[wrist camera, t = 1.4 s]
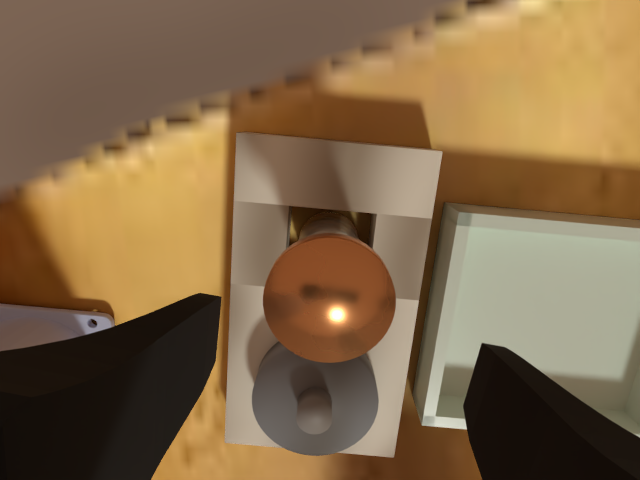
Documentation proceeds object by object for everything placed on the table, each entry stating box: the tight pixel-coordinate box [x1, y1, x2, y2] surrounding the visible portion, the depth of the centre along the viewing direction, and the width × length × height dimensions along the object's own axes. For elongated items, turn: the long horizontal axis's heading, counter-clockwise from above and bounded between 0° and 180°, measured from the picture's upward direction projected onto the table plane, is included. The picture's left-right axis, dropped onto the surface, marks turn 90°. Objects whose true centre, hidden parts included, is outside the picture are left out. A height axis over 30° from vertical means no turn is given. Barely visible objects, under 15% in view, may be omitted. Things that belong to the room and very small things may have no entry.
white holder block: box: [225, 132, 443, 458], centre depth 21 cm, size 9×16×5 cm, turn 175°
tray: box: [412, 202, 640, 437], centre depth 22 cm, size 12×11×2 cm
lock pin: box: [263, 212, 396, 363], centre depth 18 cm, size 4×4×8 cm
